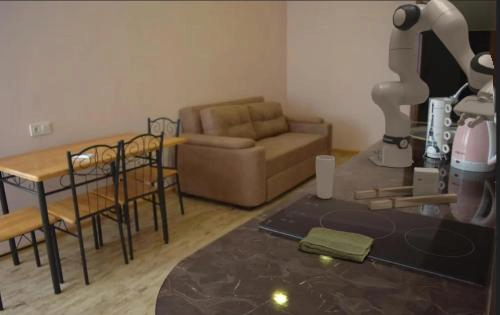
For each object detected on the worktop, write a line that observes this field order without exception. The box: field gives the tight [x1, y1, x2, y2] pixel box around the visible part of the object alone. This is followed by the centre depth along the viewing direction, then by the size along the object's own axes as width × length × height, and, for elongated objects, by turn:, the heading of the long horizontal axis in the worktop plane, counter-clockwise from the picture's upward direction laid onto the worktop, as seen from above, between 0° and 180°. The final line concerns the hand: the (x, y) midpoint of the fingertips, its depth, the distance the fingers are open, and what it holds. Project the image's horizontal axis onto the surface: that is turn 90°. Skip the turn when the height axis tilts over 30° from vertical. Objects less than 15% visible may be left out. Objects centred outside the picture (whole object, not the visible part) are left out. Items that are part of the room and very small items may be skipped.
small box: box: [412, 166, 440, 197], centre depth 142 cm, size 8×6×10 cm
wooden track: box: [353, 185, 458, 211], centre depth 141 cm, size 13×32×3 cm, turn 101°
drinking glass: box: [315, 154, 336, 200], centre depth 144 cm, size 7×7×15 cm
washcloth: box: [298, 227, 375, 263], centre depth 106 cm, size 13×18×3 cm
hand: (464, 125), depth 139 cm, fingers open, 4 cm apart
